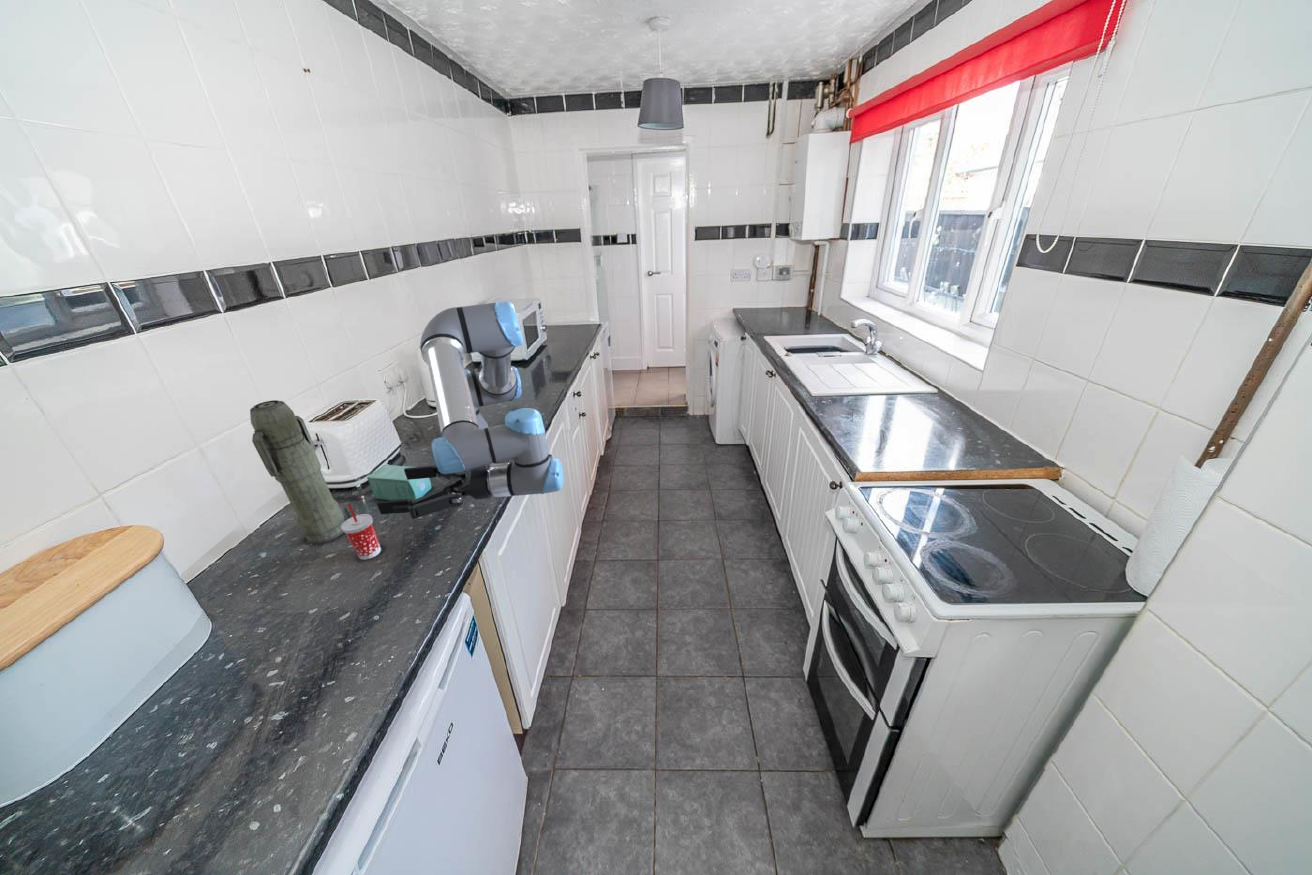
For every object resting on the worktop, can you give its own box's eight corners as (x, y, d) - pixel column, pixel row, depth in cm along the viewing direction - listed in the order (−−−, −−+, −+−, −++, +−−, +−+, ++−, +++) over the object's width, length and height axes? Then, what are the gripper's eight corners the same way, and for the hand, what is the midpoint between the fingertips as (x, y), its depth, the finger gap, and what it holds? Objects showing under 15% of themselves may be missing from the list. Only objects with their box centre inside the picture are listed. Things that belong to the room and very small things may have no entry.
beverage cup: (363, 545, 109) (341, 497, 102) (389, 543, 109) (369, 494, 103) (349, 563, 103) (326, 513, 97) (377, 560, 104) (355, 510, 97)
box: (417, 503, 124) (409, 479, 121) (374, 500, 126) (365, 477, 123) (433, 488, 130) (426, 466, 127) (392, 486, 133) (384, 463, 130)
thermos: (358, 516, 120) (305, 393, 104) (330, 546, 109) (267, 413, 93) (324, 518, 120) (266, 395, 104) (294, 548, 109) (224, 416, 93)
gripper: (481, 529, 91) (372, 540, 90) (506, 467, 113) (420, 475, 112) (472, 498, 88) (359, 509, 87) (500, 440, 110) (411, 448, 109)
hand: (393, 490), depth 99 cm, fingers open, 13 cm apart
